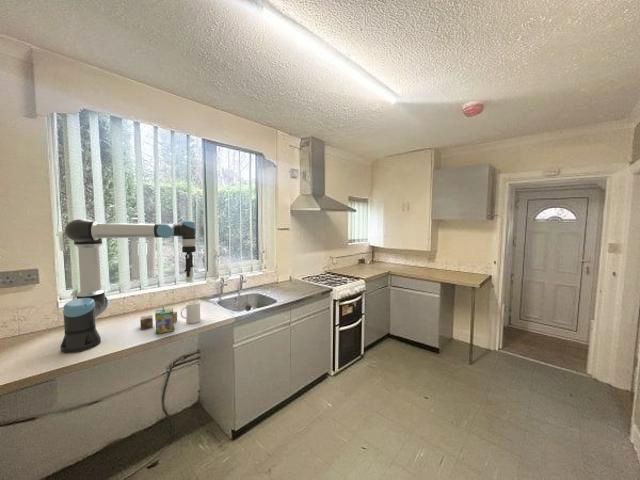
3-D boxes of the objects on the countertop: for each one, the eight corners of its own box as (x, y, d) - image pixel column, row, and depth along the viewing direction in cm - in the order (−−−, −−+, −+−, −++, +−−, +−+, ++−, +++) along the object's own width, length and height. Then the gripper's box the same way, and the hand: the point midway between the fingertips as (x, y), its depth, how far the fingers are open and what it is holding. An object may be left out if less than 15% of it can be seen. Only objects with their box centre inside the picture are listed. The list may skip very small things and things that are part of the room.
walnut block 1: (140, 329, 154) (140, 319, 153) (141, 326, 159) (140, 316, 159) (152, 327, 157) (152, 317, 157) (152, 324, 162) (152, 314, 162)
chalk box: (174, 331, 152) (173, 306, 151) (155, 334, 148) (154, 308, 147) (173, 325, 160) (173, 302, 159) (156, 328, 155) (155, 304, 155)
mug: (182, 326, 160) (182, 306, 159) (178, 322, 166) (178, 303, 165) (202, 321, 168) (202, 302, 167) (198, 317, 174) (197, 300, 173)
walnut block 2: (162, 324, 162) (162, 314, 162) (167, 321, 168) (167, 311, 168) (173, 324, 163) (172, 314, 162) (177, 320, 169) (176, 311, 168)
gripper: (194, 247, 150) (194, 283, 152) (196, 244, 174) (197, 275, 175) (179, 247, 148) (180, 284, 149) (184, 244, 171) (184, 276, 172)
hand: (189, 279), depth 162 cm, fingers open, 13 cm apart
